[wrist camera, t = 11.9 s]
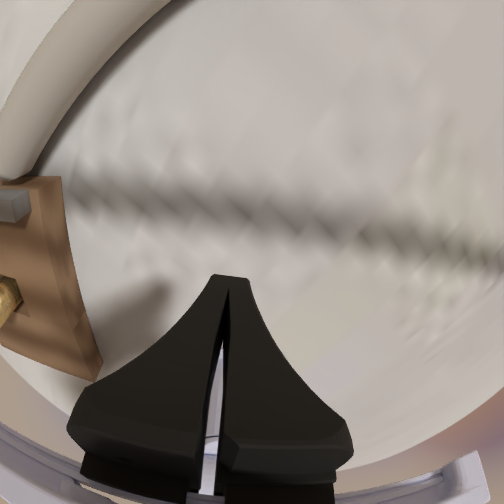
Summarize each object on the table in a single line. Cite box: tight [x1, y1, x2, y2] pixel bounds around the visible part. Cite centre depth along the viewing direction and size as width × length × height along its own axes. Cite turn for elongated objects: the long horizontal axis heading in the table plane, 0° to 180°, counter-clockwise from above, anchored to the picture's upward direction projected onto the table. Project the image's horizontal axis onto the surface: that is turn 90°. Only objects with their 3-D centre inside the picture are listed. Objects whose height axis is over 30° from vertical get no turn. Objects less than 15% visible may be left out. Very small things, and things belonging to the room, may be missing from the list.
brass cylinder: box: [0, 276, 23, 328], centre depth 20 cm, size 3×3×7 cm
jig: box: [0, 176, 103, 382], centre depth 21 cm, size 22×16×5 cm
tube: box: [0, 0, 171, 181], centre depth 11 cm, size 5×5×25 cm
